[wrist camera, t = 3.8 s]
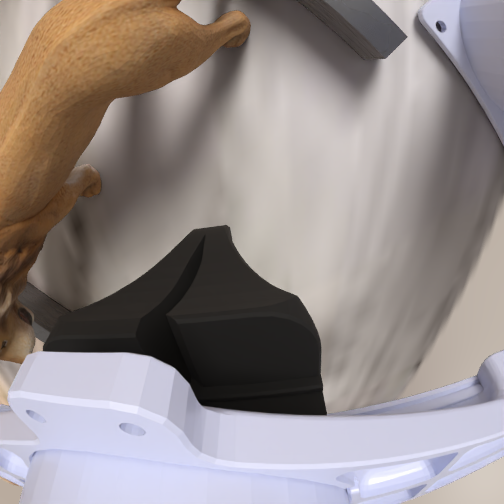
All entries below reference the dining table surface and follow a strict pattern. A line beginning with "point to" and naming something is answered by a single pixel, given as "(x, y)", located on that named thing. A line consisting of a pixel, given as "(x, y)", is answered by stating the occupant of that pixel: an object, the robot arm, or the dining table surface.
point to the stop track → (341, 22)
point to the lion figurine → (79, 118)
